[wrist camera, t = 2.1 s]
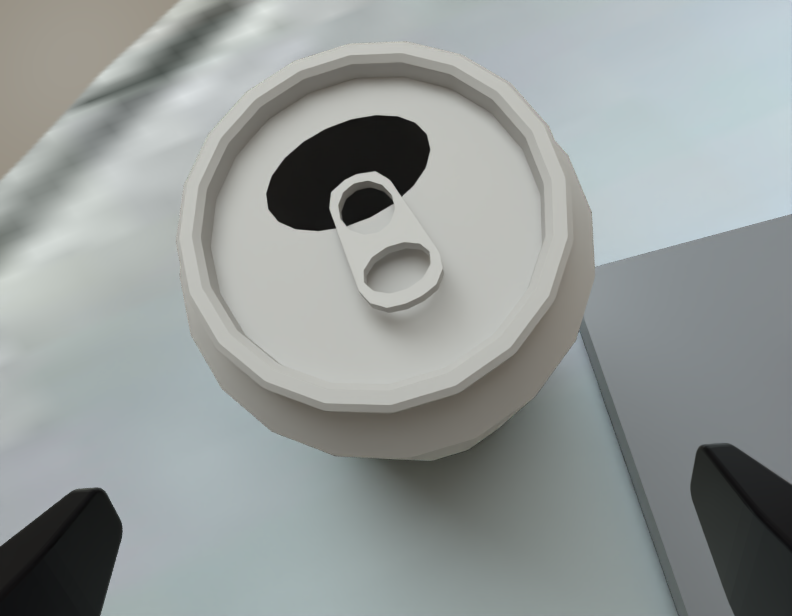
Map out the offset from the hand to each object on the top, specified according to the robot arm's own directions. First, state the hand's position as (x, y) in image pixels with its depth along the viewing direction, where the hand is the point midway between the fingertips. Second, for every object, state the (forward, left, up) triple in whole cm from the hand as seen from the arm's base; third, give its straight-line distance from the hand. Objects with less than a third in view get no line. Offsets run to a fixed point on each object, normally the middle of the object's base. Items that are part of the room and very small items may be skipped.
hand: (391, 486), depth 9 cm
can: (+4, -1, -11) cm, 12 cm away
